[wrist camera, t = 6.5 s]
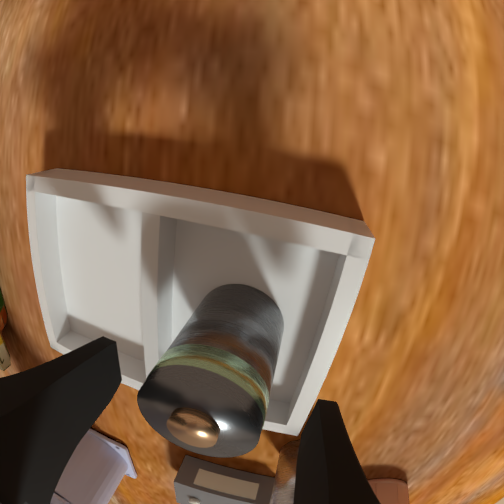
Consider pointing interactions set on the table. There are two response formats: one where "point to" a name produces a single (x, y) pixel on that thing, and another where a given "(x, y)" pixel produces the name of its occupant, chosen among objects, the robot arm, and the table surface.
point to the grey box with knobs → (219, 484)
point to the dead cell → (285, 474)
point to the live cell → (217, 374)
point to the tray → (190, 271)
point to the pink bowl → (390, 490)
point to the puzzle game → (0, 351)
